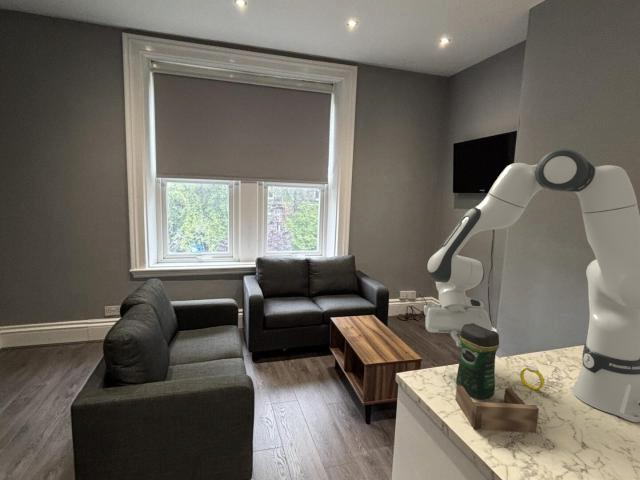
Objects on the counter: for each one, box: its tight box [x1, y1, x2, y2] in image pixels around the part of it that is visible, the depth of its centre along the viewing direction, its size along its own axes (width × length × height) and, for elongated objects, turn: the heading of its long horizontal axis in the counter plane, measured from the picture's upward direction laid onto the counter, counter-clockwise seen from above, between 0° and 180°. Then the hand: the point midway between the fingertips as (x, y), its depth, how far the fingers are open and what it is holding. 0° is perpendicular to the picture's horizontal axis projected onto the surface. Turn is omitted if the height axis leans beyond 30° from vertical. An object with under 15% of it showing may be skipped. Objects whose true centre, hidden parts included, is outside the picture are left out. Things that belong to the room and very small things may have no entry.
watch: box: [519, 365, 545, 391], centre depth 98 cm, size 6×3×6 cm, turn 30°
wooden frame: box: [455, 385, 540, 434], centre depth 84 cm, size 14×12×6 cm
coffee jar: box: [455, 323, 500, 400], centre depth 94 cm, size 10×8×19 cm
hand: (462, 346), depth 105 cm, fingers closed
